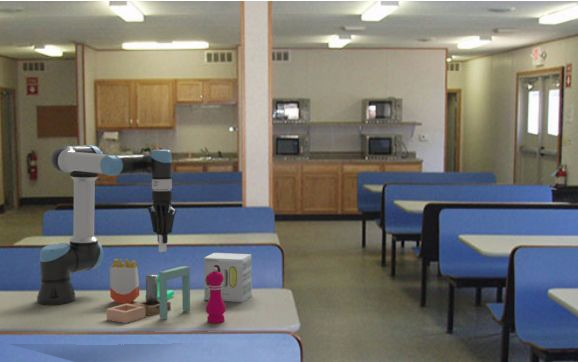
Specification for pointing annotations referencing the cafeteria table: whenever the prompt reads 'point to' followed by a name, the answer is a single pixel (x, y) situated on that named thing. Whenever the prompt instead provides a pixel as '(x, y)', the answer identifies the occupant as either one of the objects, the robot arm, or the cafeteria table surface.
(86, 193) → the robot arm
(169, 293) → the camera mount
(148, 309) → the socket block
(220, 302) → the pepper mill
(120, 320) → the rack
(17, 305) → the cafeteria table surface
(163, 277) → the teal green arch
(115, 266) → the french fries container
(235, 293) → the supplement box
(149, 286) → the metal cylinder
